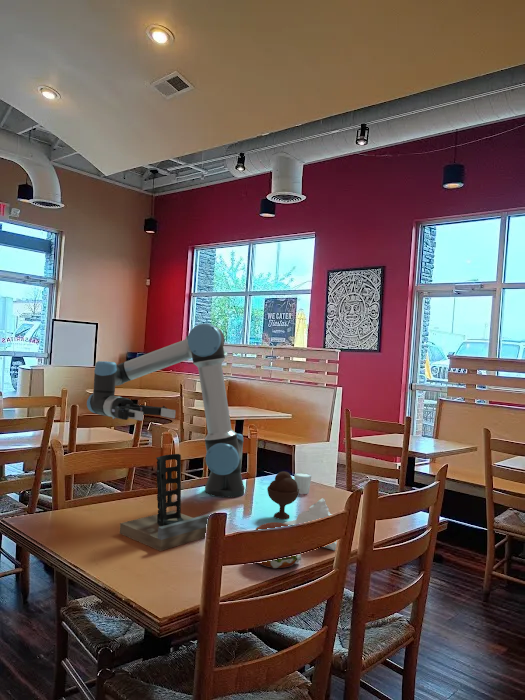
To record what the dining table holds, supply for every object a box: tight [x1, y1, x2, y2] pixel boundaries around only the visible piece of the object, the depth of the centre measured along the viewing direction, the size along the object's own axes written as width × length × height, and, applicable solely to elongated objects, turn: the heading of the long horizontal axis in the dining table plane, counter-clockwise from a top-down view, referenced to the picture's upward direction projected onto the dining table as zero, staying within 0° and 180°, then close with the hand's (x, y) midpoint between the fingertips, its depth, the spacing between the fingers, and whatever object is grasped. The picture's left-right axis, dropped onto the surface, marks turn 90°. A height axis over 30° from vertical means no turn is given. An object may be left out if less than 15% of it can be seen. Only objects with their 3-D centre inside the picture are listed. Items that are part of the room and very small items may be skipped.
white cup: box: [293, 472, 312, 495], centre depth 222 cm, size 7×7×7 cm
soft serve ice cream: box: [283, 497, 337, 552], centre depth 163 cm, size 12×15×14 cm
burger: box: [255, 521, 302, 569], centre depth 147 cm, size 13×14×10 cm
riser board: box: [119, 510, 211, 552], centre depth 162 cm, size 20×18×6 cm
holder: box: [155, 453, 184, 526], centre depth 162 cm, size 11×8×20 cm
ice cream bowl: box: [267, 470, 299, 520], centre depth 187 cm, size 11×11×15 cm
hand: (158, 415), depth 182 cm, fingers open, 13 cm apart
